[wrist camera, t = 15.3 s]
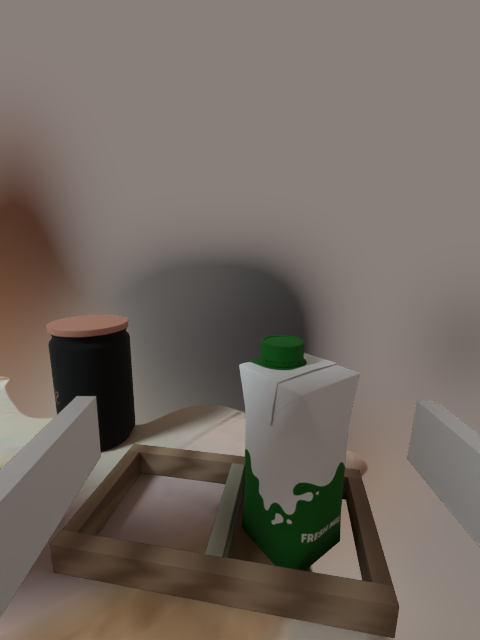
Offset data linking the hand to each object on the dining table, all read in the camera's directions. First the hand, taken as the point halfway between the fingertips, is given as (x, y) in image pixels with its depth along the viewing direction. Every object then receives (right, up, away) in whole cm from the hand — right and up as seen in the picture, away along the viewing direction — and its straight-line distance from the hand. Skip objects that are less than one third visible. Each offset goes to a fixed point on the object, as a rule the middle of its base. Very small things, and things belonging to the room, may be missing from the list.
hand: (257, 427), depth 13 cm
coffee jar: (-22, -14, +36) cm, 45 cm away
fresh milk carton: (+4, -18, +19) cm, 26 cm away
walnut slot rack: (-2, -17, +20) cm, 27 cm away
